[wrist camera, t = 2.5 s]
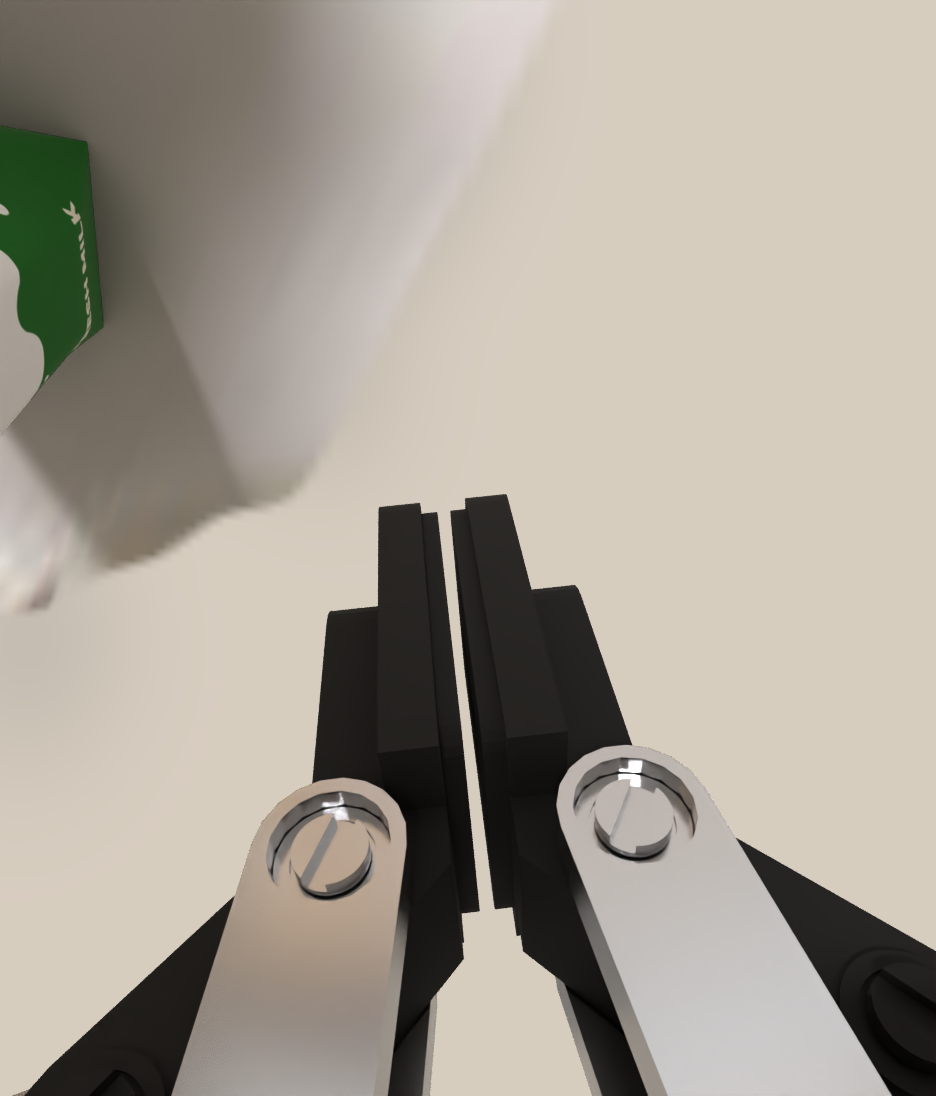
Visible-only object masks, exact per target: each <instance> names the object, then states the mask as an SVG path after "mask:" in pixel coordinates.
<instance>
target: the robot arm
mask: <svg viewBox="0 0 936 1096" xmlns="http://www.w3.org/2000/svg"><path fill="white" fill-rule="evenodd" d="M465 508H466V509H463V510H453V511H451V512H450V513H451V525H452V536H453V546H454V559H455V569H456V581H457V592H458V602H459V614H460V626H461V637H462V648H463V659H464V669H465V678H466V686H467V694H468V702H469V710H470V718H471V726H472V733H473V741H474V749H475V757H476V765H477V773H478V781H479V789H480V797H481V805H482V813H483V820H484V829H485V837H486V844H487V853H488V860H489V868H490V876H491V884H492V892H493V900H494V907H495V909H501V908H509V907H512V908H513V914H514V921H515V928H516V935H517V936H519V935H521V940H522V947H523V952H525V953H526V954H528V955H529V956H530V957H531V958H532V959H534V960H535V961H536V962H538V963H539V964H540V965H542V966H543V967H544V968H545V969H547V970H548V971H549V972H551V973H552V974H553V975H554V976H555V977H556V983H557V989H558V992H559V995H560V999H561V1002H562V1005H563V1008H564V1011H565V1014H566V1017H567V1020H568V1023H569V1026H570V1029H571V1032H572V1035H573V1038H574V1041H575V1044H576V1047H577V1051H578V1053H579V1057H580V1060H581V1063H582V1066H583V1069H584V1072H585V1075H586V1078H587V1081H588V1084H589V1087H590V1090H591V1093H592V1096H936V951H935V950H933V949H931V948H929V947H927V946H926V945H924V944H922V943H920V942H919V941H917V940H915V939H913V938H912V937H910V936H908V935H906V934H904V933H903V932H901V931H899V930H898V929H896V928H894V927H892V926H890V925H889V924H887V923H885V922H883V921H882V920H880V919H878V918H876V917H875V916H873V915H871V914H869V913H868V912H866V911H864V910H862V909H861V908H859V907H857V906H855V905H854V904H852V903H850V902H848V901H846V900H845V899H843V898H841V897H839V896H838V895H836V894H834V893H832V892H831V891H829V890H827V889H825V888H824V887H822V886H820V885H818V884H817V883H815V882H813V881H811V880H809V879H808V878H806V877H804V876H802V875H801V874H799V873H797V872H795V871H793V870H792V869H790V868H788V867H787V866H785V865H783V864H781V863H780V862H778V861H776V860H774V859H772V858H771V857H769V856H767V855H765V854H764V853H762V852H760V851H758V850H757V849H755V848H753V847H751V846H750V845H748V844H746V843H744V842H743V841H741V840H739V839H737V838H735V836H734V835H733V833H732V831H731V830H730V828H729V826H728V825H727V823H726V822H725V820H724V818H723V816H722V815H721V813H720V811H719V810H718V808H717V806H716V805H715V803H714V801H713V800H712V798H711V796H710V795H709V793H708V792H707V790H706V788H705V787H704V786H703V785H702V784H701V782H700V781H699V780H698V779H697V777H696V776H695V775H694V774H693V772H692V771H691V770H689V769H688V768H687V767H685V766H684V765H683V764H681V763H680V762H678V761H677V760H675V759H674V758H673V757H671V756H669V755H666V754H663V753H661V752H658V751H656V750H653V749H651V748H646V747H639V746H632V743H631V740H630V737H629V735H628V731H627V729H626V725H625V723H624V720H623V717H622V714H621V711H620V708H619V705H618V702H617V699H616V696H615V693H614V690H613V687H612V685H611V682H610V679H609V676H608V673H607V670H606V667H605V664H604V661H603V658H602V655H601V652H600V650H599V647H598V644H597V641H596V638H595V635H594V632H593V629H592V626H591V623H590V620H589V617H588V614H587V612H586V609H585V606H584V603H583V600H582V597H581V594H580V593H579V590H578V588H577V587H576V586H575V585H570V586H561V587H552V588H543V589H533V590H531V586H530V582H529V578H528V575H527V571H526V567H525V563H524V559H523V555H522V551H521V547H520V544H519V540H518V536H517V532H516V528H515V525H514V520H513V517H512V513H511V509H510V505H509V501H508V498H507V495H506V494H503V495H493V496H483V497H473V498H466V499H465ZM378 526H379V528H378V531H379V532H378V606H376V607H367V608H357V609H348V610H339V611H330V612H329V614H328V618H327V625H326V636H325V647H324V658H323V670H322V681H321V692H320V704H319V715H318V725H317V737H316V747H315V759H314V770H313V781H312V784H310V785H308V786H305V787H303V788H300V789H298V790H296V791H295V792H294V793H292V794H291V795H289V796H288V797H286V798H285V799H283V800H282V801H281V802H279V803H278V804H277V805H276V806H275V807H274V809H273V810H272V811H271V812H270V813H269V814H268V815H267V817H266V818H265V819H264V820H263V821H262V823H261V825H260V827H259V829H258V831H257V833H256V835H255V837H254V839H253V841H252V844H251V847H250V850H249V853H248V856H247V859H246V863H245V866H244V869H243V872H242V875H241V878H240V882H239V885H238V888H237V891H236V894H235V896H234V897H233V898H231V899H230V900H229V901H228V902H227V903H226V904H225V905H224V906H223V907H222V908H221V909H220V910H219V911H218V912H216V913H215V914H214V915H213V916H212V917H211V918H210V919H209V920H208V921H207V922H206V923H205V924H203V925H202V926H201V927H200V928H199V929H198V930H197V931H196V932H195V933H194V934H193V935H192V936H190V937H189V938H188V939H187V940H186V941H185V942H184V943H183V944H182V945H181V946H180V947H179V948H177V949H176V950H175V951H174V952H173V953H172V954H171V955H170V956H169V957H168V958H167V959H166V960H165V961H163V963H161V964H160V965H159V966H158V967H157V968H156V969H155V970H154V971H153V972H152V973H151V974H150V975H148V976H147V977H146V978H145V979H144V980H143V981H142V982H141V983H140V984H139V985H138V986H137V987H135V989H133V990H132V991H131V992H130V993H129V994H128V995H127V996H126V997H125V998H123V999H122V1000H121V1001H120V1002H119V1003H118V1004H117V1005H116V1006H115V1007H114V1008H113V1009H112V1010H111V1011H110V1012H108V1013H107V1014H106V1015H105V1016H104V1017H103V1018H102V1019H101V1020H100V1021H99V1022H98V1023H97V1024H95V1025H94V1026H93V1027H92V1028H91V1029H90V1030H89V1031H88V1032H87V1033H86V1034H85V1035H84V1036H82V1037H81V1038H80V1039H79V1040H78V1041H77V1042H76V1043H75V1044H74V1045H73V1046H72V1047H71V1048H70V1049H69V1050H67V1051H66V1052H65V1053H64V1054H63V1055H62V1056H61V1057H60V1058H59V1059H58V1060H57V1061H55V1062H54V1063H53V1064H52V1065H51V1066H50V1067H49V1068H48V1069H47V1070H46V1072H45V1073H44V1074H43V1075H42V1076H41V1077H40V1079H38V1081H37V1082H36V1083H35V1084H34V1085H33V1086H32V1087H31V1088H30V1089H29V1090H26V1091H24V1092H21V1093H18V1094H16V1095H13V1096H430V1087H431V1075H432V1062H433V1049H434V1038H435V1025H436V1013H437V996H436V993H437V992H438V991H439V990H440V988H441V987H442V986H443V985H444V983H445V982H446V981H447V980H448V978H449V977H450V976H451V974H452V973H453V972H454V971H455V969H456V968H457V967H458V965H459V964H460V963H461V962H462V960H463V959H464V956H463V945H462V943H464V937H463V925H462V914H461V913H470V912H477V911H480V909H479V900H478V889H477V881H476V880H477V879H476V869H475V859H474V849H473V841H472V840H473V839H472V829H471V819H470V809H469V799H468V789H467V779H466V769H465V760H464V749H463V740H462V730H461V721H460V713H459V704H458V694H457V685H456V676H455V667H454V658H453V649H452V640H451V631H450V623H449V613H448V605H447V595H446V586H445V578H444V568H443V559H442V551H441V541H440V532H439V523H438V515H437V512H434V513H424V514H421V506H420V503H415V504H405V505H395V506H385V507H379V521H378Z"/></svg>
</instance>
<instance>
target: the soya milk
mask: <svg viewBox="0 0 936 1096" xmlns="http://www.w3.org/2000/svg"><path fill="white" fill-rule="evenodd" d="M103 327H104V325H103V313H102V302H101V291H100V279H99V268H98V257H97V246H96V234H95V223H94V212H93V200H92V189H91V178H90V166H89V155H88V144H87V142H85V141H80V140H74V139H69V138H63V137H58V136H53V135H47V134H42V133H37V132H31V131H26V130H21V129H15V128H10V127H5V126H0V436H1V435H2V434H3V432H4V431H5V430H6V429H7V428H8V426H9V425H10V424H11V423H12V422H13V420H14V419H15V418H16V417H17V416H18V414H19V413H20V412H21V411H22V410H23V408H24V407H25V406H26V405H27V404H28V403H29V401H30V400H31V399H32V398H33V397H34V395H35V394H36V393H37V392H38V391H39V389H40V388H41V387H42V386H43V385H44V383H45V382H46V381H47V380H48V379H49V377H50V376H51V375H52V374H53V373H54V372H55V370H56V369H57V368H58V367H59V366H60V364H61V363H62V362H63V361H64V360H65V358H66V357H67V356H68V355H69V354H70V353H71V352H73V351H74V350H75V349H76V348H78V347H79V346H80V345H81V344H83V343H84V342H85V341H86V340H88V339H89V338H90V337H91V336H93V335H94V334H95V333H97V332H98V331H99V330H100V329H102V328H103Z"/></svg>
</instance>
